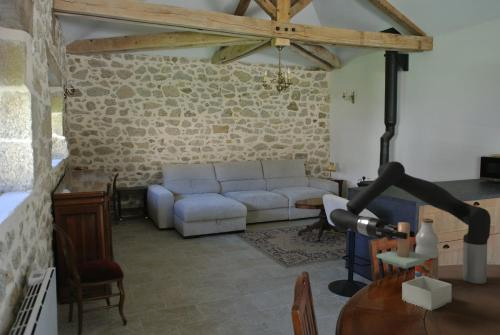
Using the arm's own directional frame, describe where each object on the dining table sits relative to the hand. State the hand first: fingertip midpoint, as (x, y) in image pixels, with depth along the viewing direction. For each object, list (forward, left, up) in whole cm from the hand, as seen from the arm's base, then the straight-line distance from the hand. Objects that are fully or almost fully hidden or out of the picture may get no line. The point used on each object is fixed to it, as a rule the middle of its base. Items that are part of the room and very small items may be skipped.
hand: (410, 235), depth 139 cm
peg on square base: (0, -3, -10) cm, 11 cm away
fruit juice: (-34, -14, -29) cm, 47 cm away
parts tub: (-14, -2, -28) cm, 32 cm away
